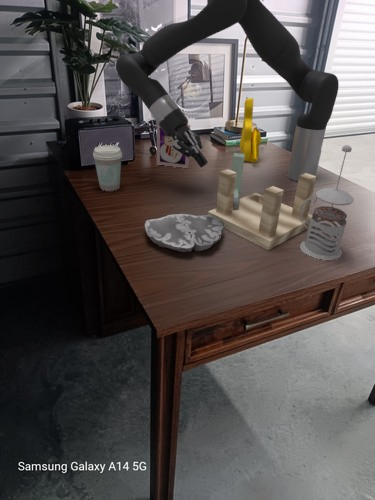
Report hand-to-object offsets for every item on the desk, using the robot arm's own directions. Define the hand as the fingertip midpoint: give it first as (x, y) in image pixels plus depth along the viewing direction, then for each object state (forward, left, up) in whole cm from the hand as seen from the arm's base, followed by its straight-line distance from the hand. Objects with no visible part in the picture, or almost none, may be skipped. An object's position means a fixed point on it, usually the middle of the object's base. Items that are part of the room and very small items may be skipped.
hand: (204, 165), depth 113 cm
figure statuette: (-37, -12, -9) cm, 40 cm away
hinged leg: (0, +12, -6) cm, 14 cm away
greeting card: (-11, -25, -9) cm, 29 cm away
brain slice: (+22, +17, -10) cm, 29 cm away
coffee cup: (+19, -21, -9) cm, 30 cm away
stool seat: (+1, +23, -9) cm, 24 cm away
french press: (+1, +40, -9) cm, 41 cm away
